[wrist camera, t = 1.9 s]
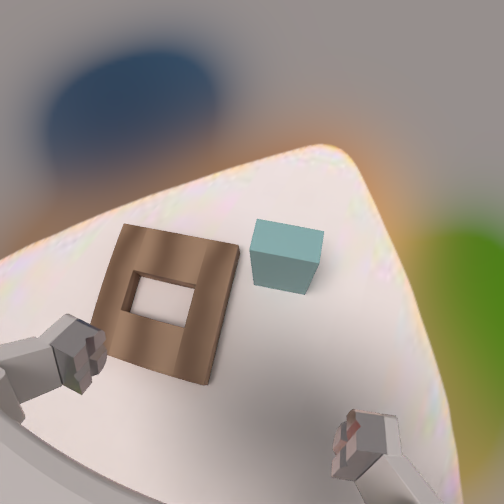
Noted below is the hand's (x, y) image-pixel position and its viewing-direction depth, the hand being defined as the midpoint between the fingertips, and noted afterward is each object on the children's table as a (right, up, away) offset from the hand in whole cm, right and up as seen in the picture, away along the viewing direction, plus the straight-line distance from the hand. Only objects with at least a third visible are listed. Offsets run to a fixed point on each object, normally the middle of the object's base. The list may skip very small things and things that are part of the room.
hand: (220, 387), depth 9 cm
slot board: (-10, -2, +28) cm, 30 cm away
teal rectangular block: (+4, +1, +29) cm, 29 cm away
